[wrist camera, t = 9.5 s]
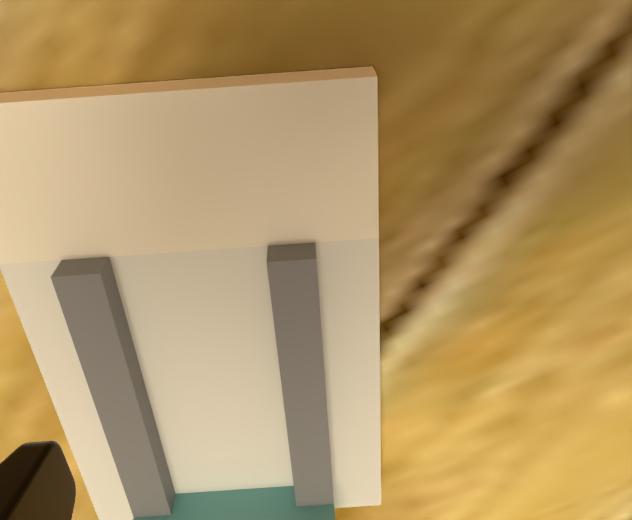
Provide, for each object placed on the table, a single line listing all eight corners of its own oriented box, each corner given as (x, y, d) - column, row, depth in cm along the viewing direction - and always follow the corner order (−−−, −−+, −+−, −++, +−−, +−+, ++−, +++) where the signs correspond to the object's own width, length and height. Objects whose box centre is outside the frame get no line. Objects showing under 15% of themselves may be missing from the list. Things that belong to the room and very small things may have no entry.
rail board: (372, 65, 17) (389, 101, 14) (377, 481, 26) (388, 558, 23) (-42, 95, 17) (-116, 137, 14) (108, 499, 26) (83, 578, 23)
